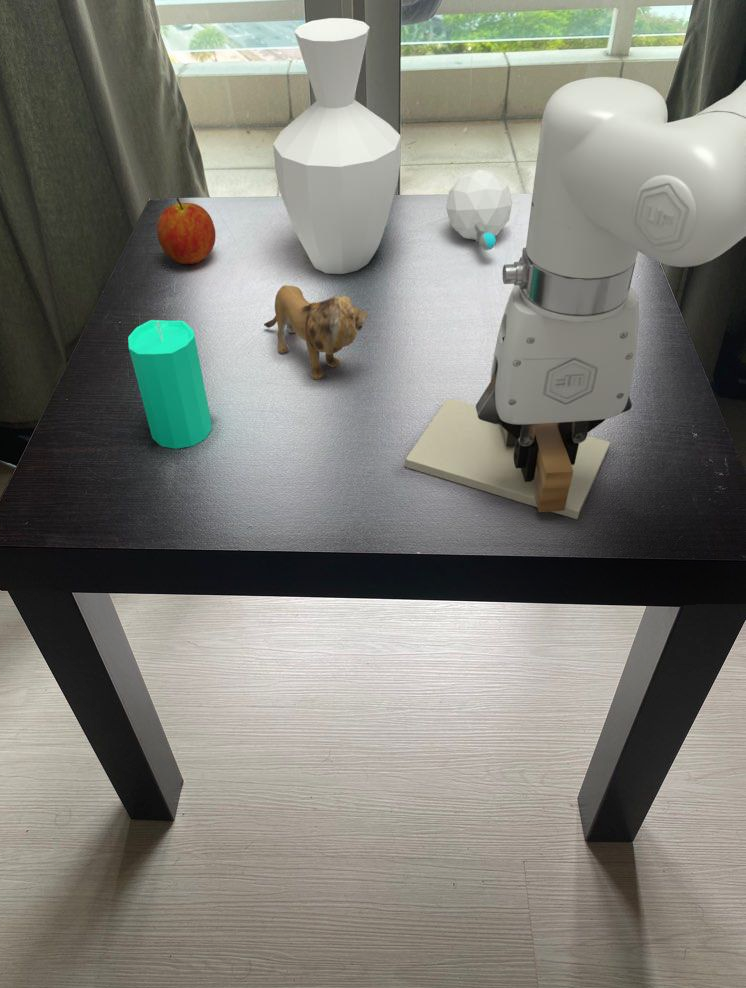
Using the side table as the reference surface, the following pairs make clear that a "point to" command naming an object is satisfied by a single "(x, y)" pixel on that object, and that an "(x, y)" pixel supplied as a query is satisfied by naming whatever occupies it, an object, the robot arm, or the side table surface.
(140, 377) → the candle
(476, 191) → the perfume bottle
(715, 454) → the side table surface
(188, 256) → the fruit
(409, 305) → the side table surface
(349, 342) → the lion figurine
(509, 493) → the tile
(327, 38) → the vase
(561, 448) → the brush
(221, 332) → the side table surface
